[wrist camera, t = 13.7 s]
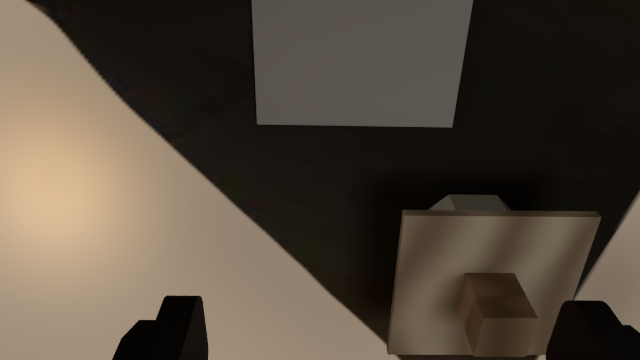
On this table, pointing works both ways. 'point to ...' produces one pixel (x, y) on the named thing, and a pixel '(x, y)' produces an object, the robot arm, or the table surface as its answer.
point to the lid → (485, 279)
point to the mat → (358, 61)
